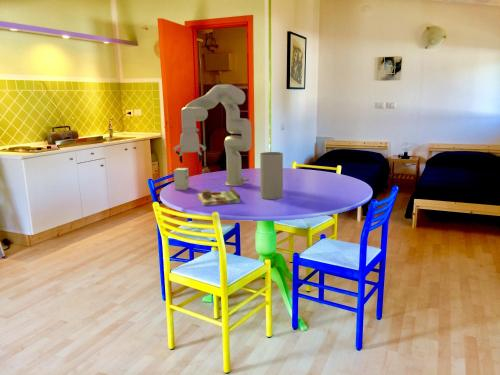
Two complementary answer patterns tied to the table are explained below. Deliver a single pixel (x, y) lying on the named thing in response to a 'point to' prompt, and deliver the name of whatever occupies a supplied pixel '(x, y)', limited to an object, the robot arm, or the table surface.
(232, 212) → the table surface
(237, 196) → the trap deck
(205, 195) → the walnut block
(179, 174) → the supplement box
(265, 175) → the cylinder vase
